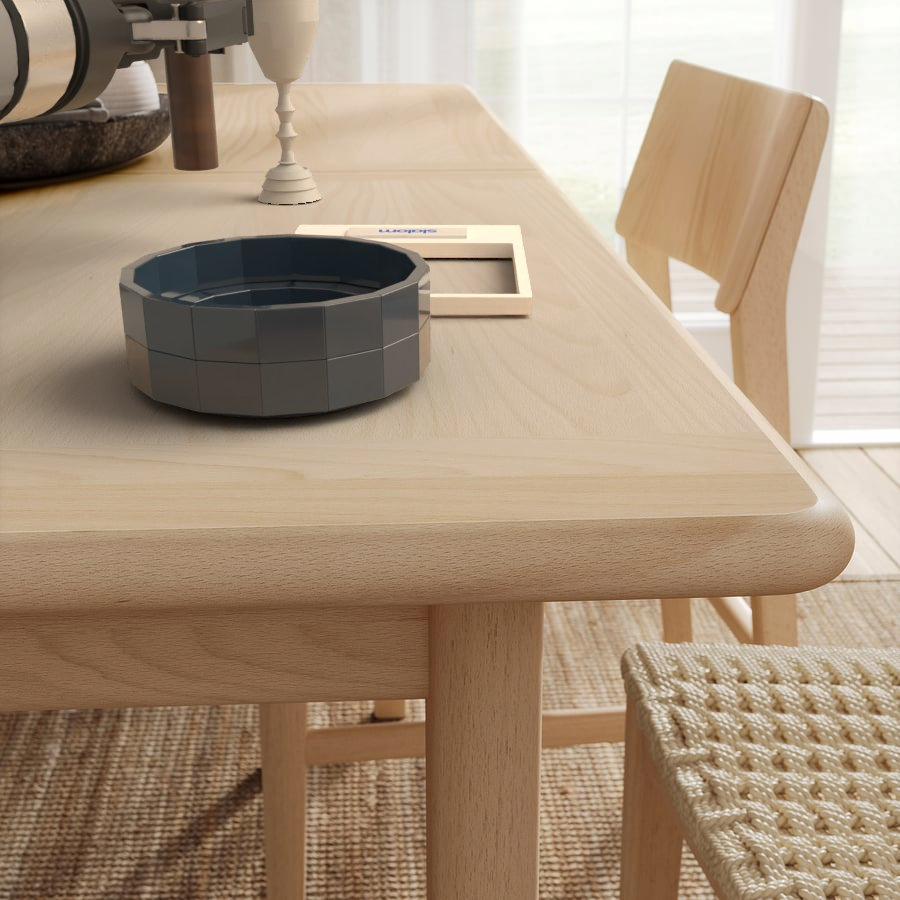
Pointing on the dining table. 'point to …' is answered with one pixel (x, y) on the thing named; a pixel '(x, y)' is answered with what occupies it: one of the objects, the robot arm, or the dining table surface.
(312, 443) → the dining table surface
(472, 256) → the photo frame
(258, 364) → the bowl
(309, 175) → the chalice
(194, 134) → the stirring stick
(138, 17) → the robot arm
